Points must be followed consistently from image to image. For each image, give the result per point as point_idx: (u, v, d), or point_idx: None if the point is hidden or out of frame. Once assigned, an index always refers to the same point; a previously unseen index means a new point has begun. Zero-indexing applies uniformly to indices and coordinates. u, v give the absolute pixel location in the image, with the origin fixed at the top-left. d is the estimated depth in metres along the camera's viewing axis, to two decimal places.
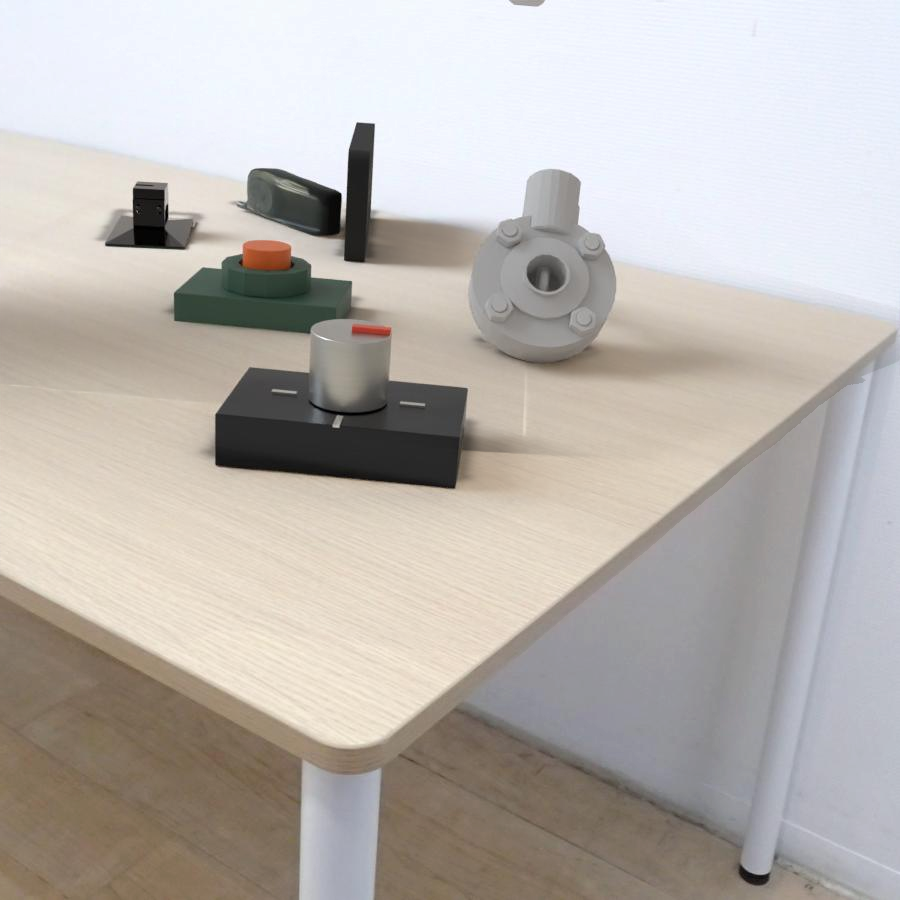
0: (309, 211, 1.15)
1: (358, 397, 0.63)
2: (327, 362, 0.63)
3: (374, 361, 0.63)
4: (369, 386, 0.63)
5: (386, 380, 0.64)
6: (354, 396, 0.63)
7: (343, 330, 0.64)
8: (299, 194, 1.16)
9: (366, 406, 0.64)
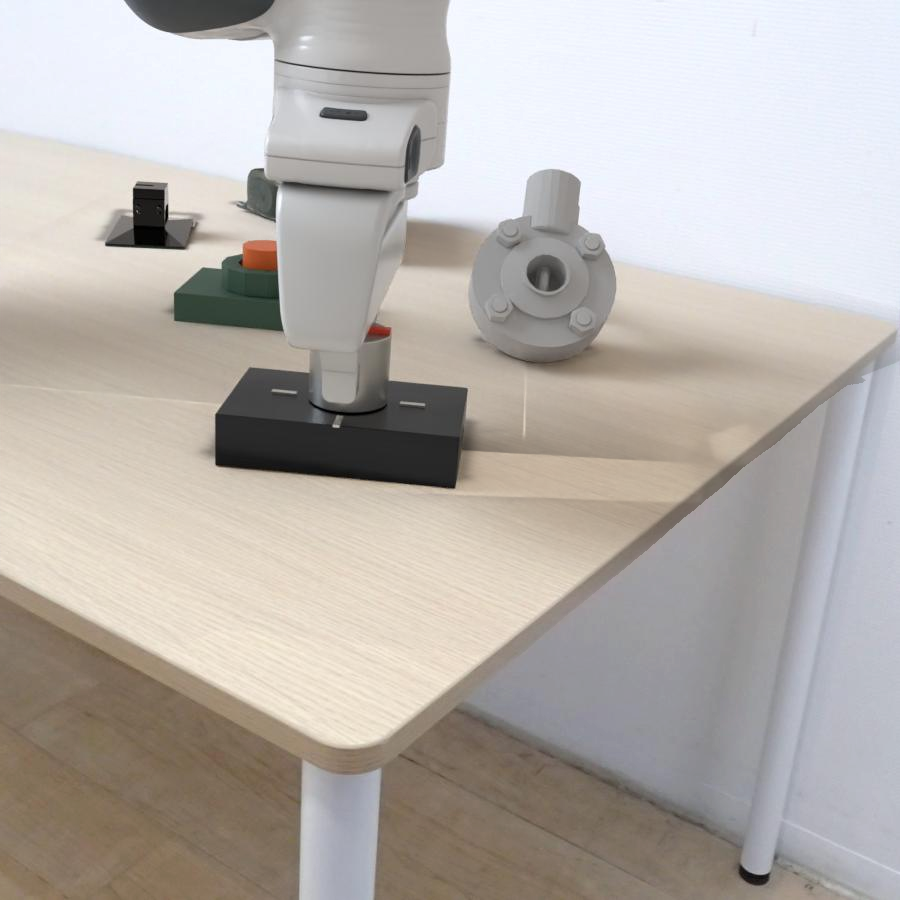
0: None
1: (358, 397, 0.63)
2: None
3: (374, 361, 0.63)
4: (369, 386, 0.63)
5: (386, 380, 0.64)
6: None
7: None
8: None
9: (366, 406, 0.64)
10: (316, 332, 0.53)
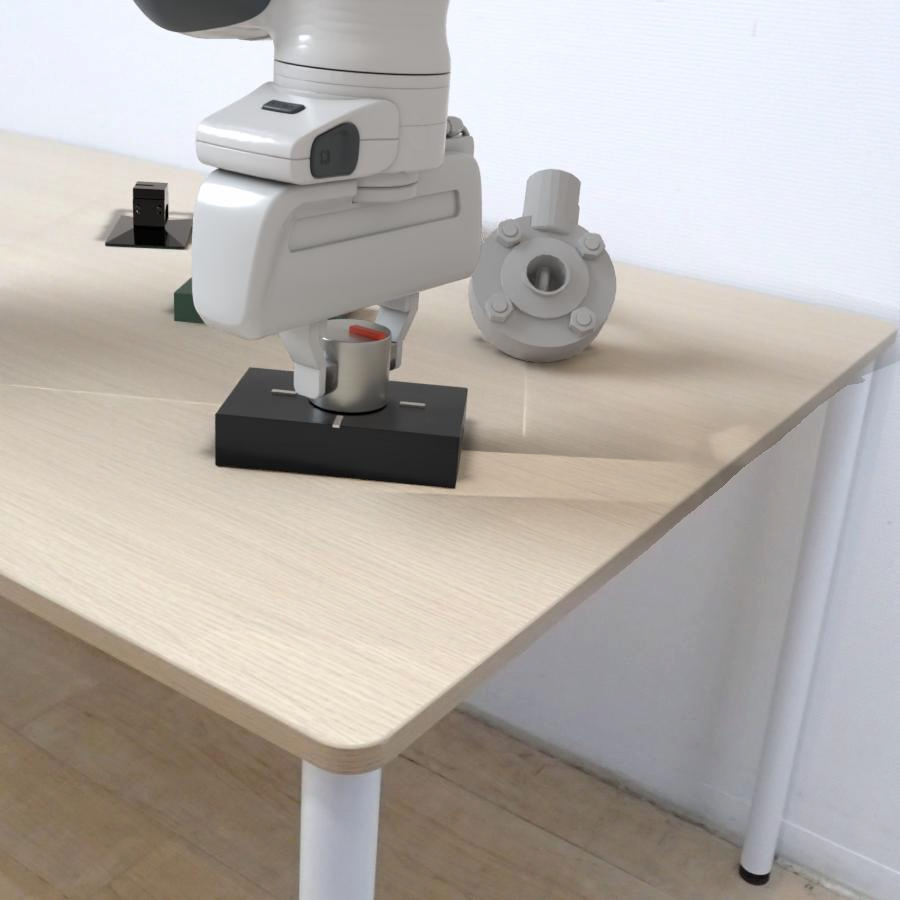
0: None
1: (336, 395, 0.63)
2: None
3: (354, 362, 0.62)
4: (348, 387, 0.63)
5: (373, 385, 0.63)
6: (333, 394, 0.63)
7: (343, 329, 0.64)
8: None
9: (345, 407, 0.63)
10: (214, 313, 0.55)
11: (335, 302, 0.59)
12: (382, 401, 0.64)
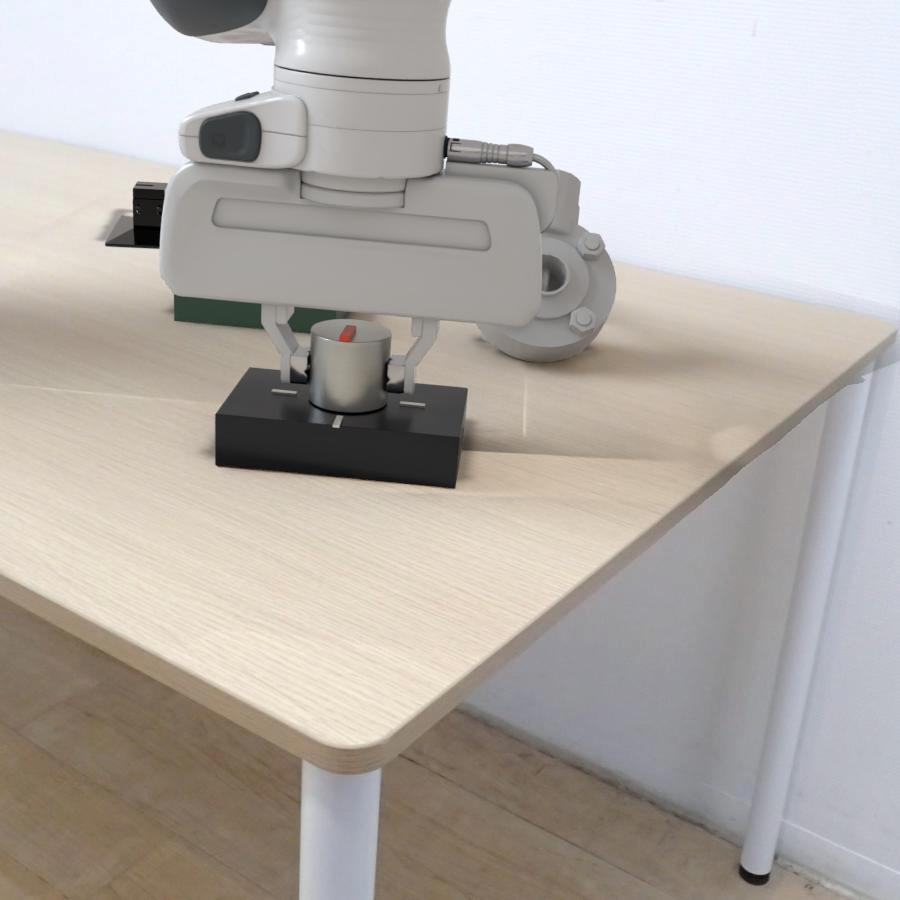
0: None
1: (309, 384, 0.64)
2: None
3: (316, 354, 0.63)
4: (313, 378, 0.64)
5: (332, 385, 0.63)
6: (309, 382, 0.65)
7: None
8: None
9: (311, 397, 0.64)
10: None
11: (278, 290, 0.61)
12: (346, 406, 0.63)
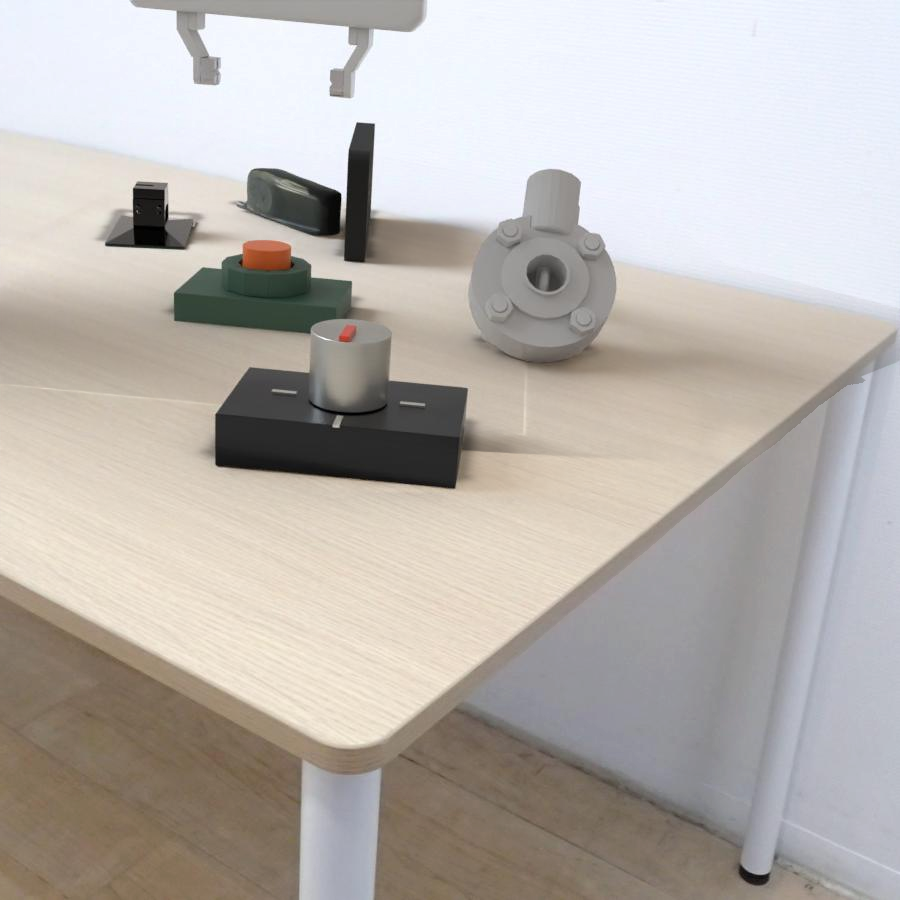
0: (308, 211, 1.15)
1: (309, 383, 0.64)
2: None
3: (316, 354, 0.63)
4: (313, 378, 0.64)
5: (332, 385, 0.63)
6: (309, 382, 0.65)
7: None
8: (299, 194, 1.16)
9: (311, 397, 0.64)
10: None
11: None
12: (346, 406, 0.63)
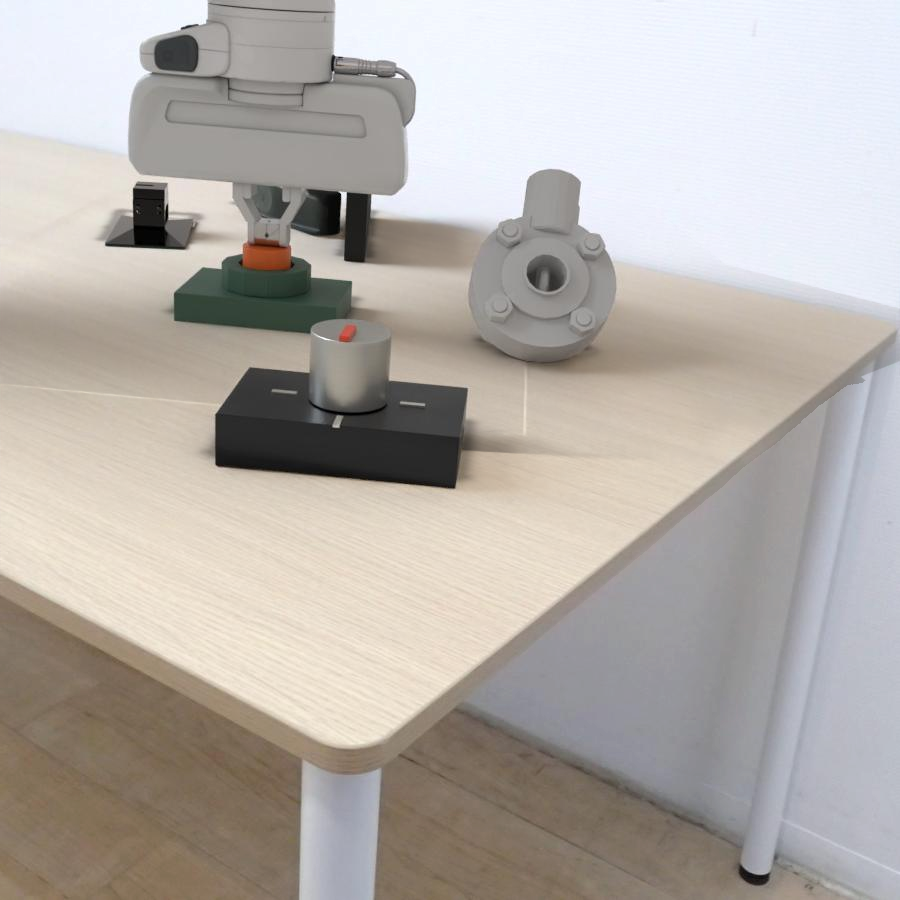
0: (308, 211, 1.15)
1: (309, 383, 0.64)
2: None
3: (316, 354, 0.63)
4: (313, 378, 0.64)
5: (332, 385, 0.63)
6: (309, 382, 0.65)
7: None
8: None
9: (311, 397, 0.64)
10: None
11: (214, 169, 0.84)
12: (346, 406, 0.63)
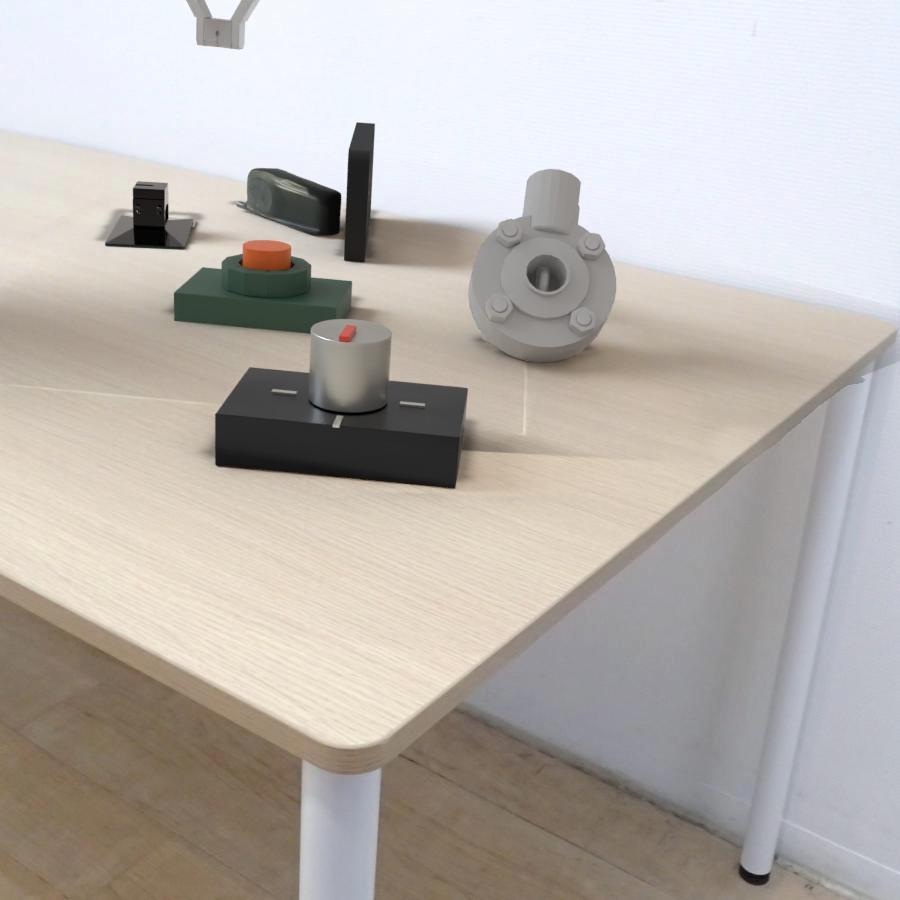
0: (308, 211, 1.15)
1: (309, 383, 0.64)
2: None
3: (316, 354, 0.63)
4: (313, 378, 0.64)
5: (332, 385, 0.63)
6: (309, 382, 0.65)
7: None
8: (299, 194, 1.16)
9: (311, 397, 0.64)
10: None
11: None
12: (346, 406, 0.63)
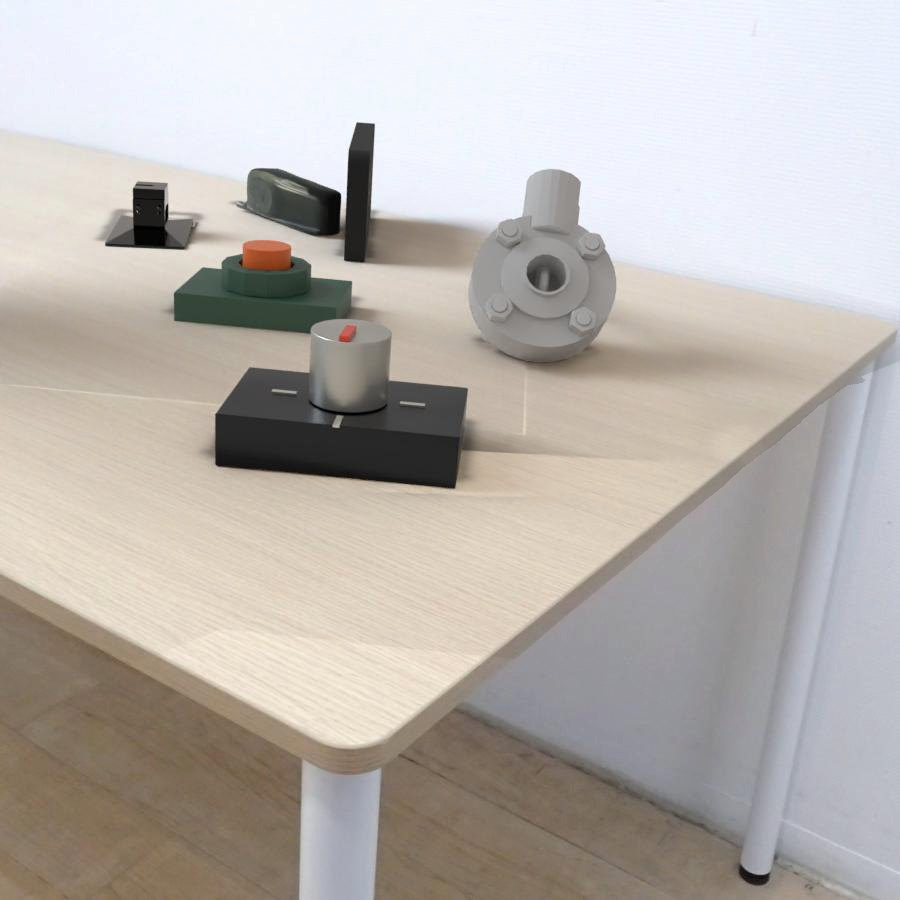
0: (308, 211, 1.15)
1: (309, 383, 0.64)
2: None
3: (316, 354, 0.63)
4: (313, 378, 0.64)
5: (332, 385, 0.63)
6: (309, 382, 0.65)
7: None
8: (299, 194, 1.16)
9: (311, 397, 0.64)
10: None
11: None
12: (346, 406, 0.63)
